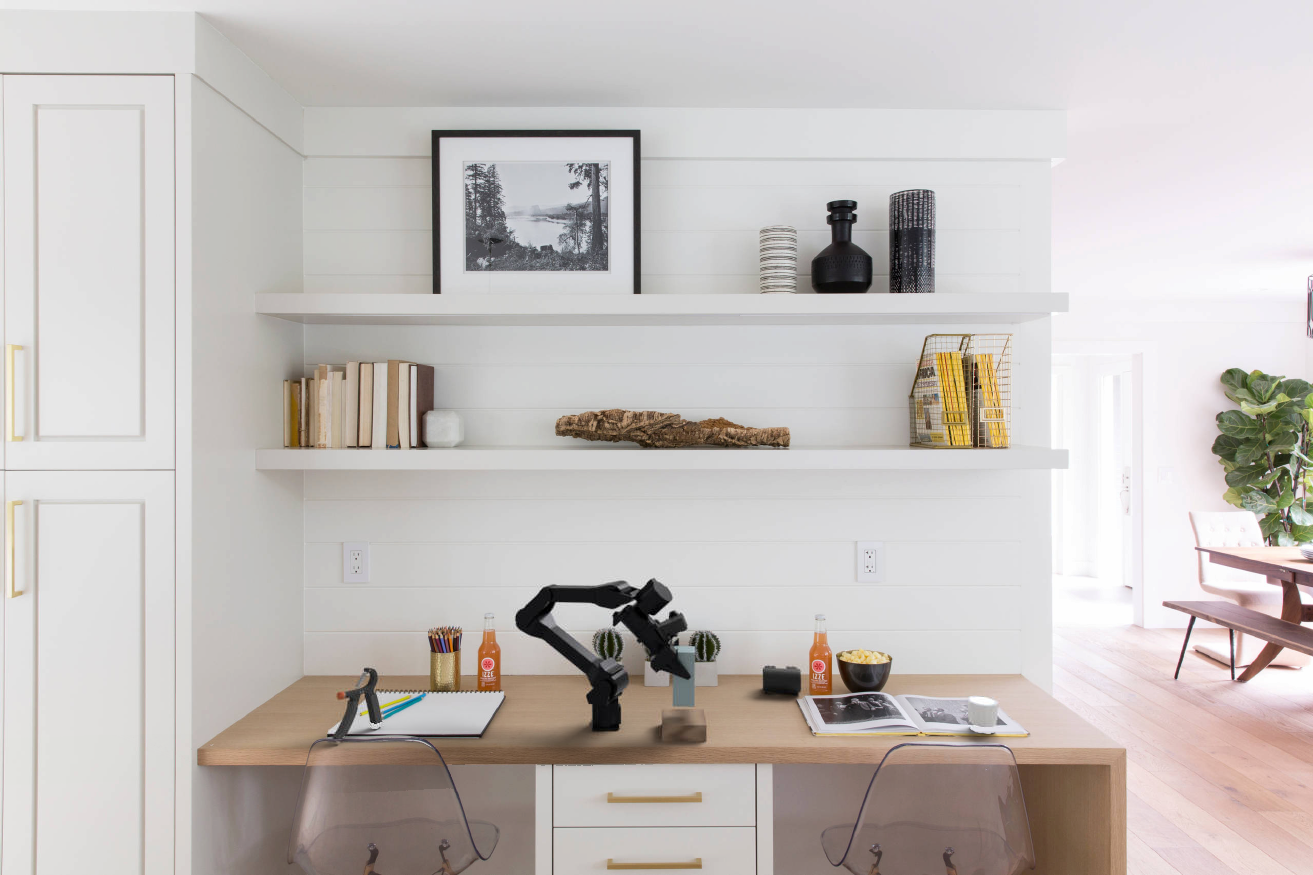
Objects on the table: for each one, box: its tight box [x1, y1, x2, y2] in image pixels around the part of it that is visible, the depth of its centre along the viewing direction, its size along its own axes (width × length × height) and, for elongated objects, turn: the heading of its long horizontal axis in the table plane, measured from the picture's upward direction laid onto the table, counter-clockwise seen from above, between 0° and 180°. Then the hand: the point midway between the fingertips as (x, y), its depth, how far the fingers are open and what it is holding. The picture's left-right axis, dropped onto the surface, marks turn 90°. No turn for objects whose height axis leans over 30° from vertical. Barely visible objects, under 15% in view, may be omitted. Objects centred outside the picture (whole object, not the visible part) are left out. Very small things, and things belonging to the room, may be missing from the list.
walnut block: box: [661, 708, 707, 742], centre depth 175 cm, size 10×10×4 cm
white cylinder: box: [966, 695, 999, 727], centre depth 177 cm, size 7×7×7 cm
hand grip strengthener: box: [331, 667, 383, 740], centre depth 173 cm, size 2×12×15 cm, turn 149°
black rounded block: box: [762, 665, 802, 695], centre depth 202 cm, size 10×7×7 cm
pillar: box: [672, 645, 696, 708], centre depth 175 cm, size 5×5×12 cm
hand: (689, 674), depth 175 cm, fingers closed on pillar, 5 cm apart
